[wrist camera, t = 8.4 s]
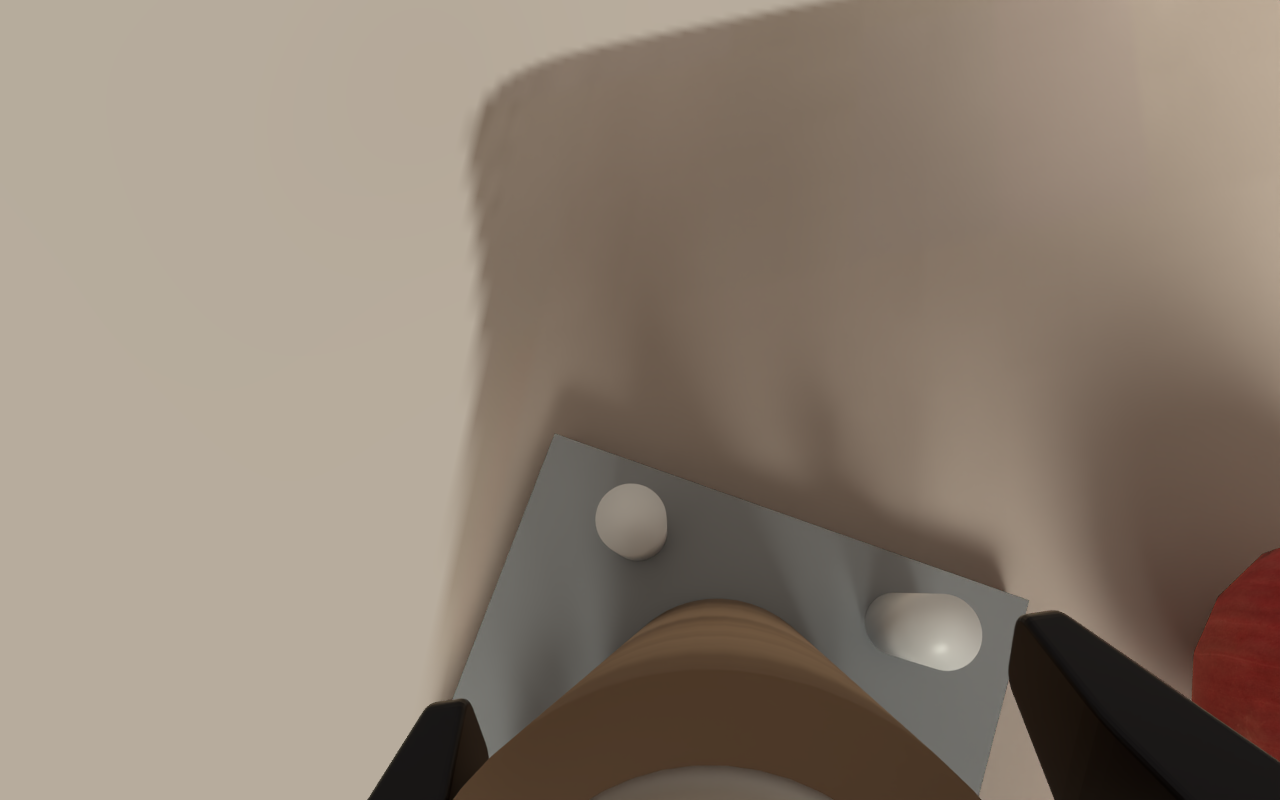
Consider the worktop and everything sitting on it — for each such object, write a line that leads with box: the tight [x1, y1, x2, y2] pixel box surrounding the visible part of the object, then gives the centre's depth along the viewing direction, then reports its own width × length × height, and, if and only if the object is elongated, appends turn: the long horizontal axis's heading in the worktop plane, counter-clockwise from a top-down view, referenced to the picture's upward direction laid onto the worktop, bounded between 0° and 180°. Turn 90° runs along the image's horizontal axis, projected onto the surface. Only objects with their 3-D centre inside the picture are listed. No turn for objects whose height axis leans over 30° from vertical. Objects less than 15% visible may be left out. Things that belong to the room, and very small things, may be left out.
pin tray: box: [452, 434, 1029, 796], centre depth 15 cm, size 8×10×4 cm
